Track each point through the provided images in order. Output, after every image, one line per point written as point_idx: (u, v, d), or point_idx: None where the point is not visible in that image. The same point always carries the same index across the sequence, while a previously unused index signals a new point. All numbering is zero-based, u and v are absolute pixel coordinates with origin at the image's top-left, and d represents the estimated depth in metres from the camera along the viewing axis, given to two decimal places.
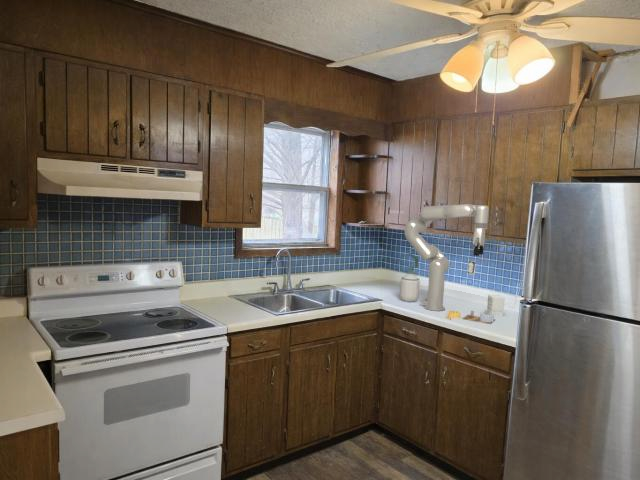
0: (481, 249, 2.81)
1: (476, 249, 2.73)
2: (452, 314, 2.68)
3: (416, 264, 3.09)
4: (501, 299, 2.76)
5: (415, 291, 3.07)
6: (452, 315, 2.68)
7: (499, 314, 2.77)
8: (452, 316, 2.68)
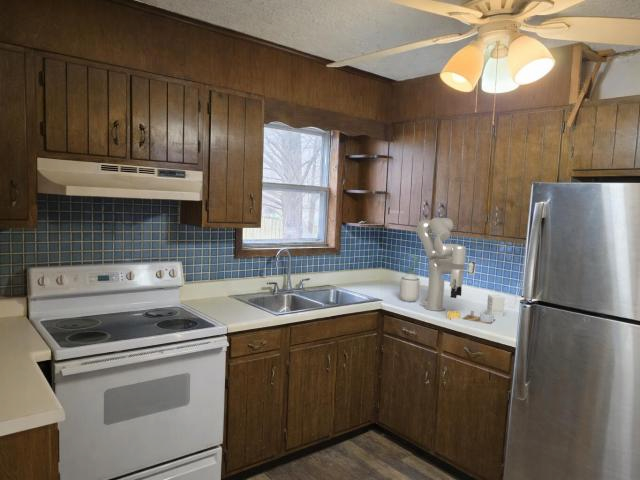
0: (459, 290, 2.72)
1: (453, 291, 2.64)
2: (452, 314, 2.68)
3: (416, 264, 3.09)
4: (501, 299, 2.76)
5: (415, 291, 3.07)
6: (452, 315, 2.68)
7: (499, 314, 2.77)
8: (452, 316, 2.68)
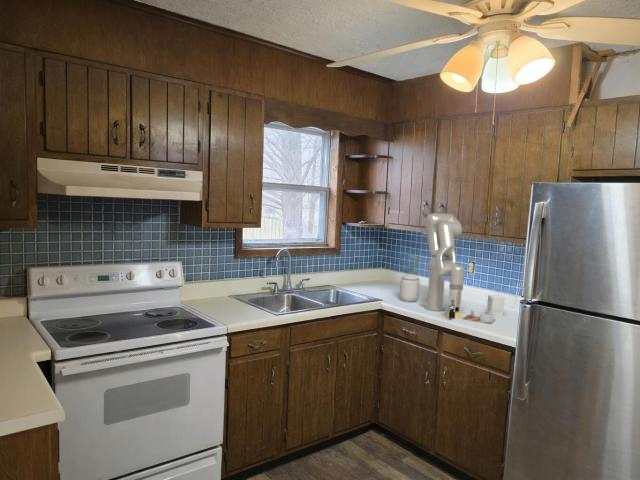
0: None
1: (451, 312, 2.66)
2: None
3: (416, 264, 3.09)
4: (501, 299, 2.76)
5: (415, 291, 3.07)
6: None
7: (499, 314, 2.77)
8: None
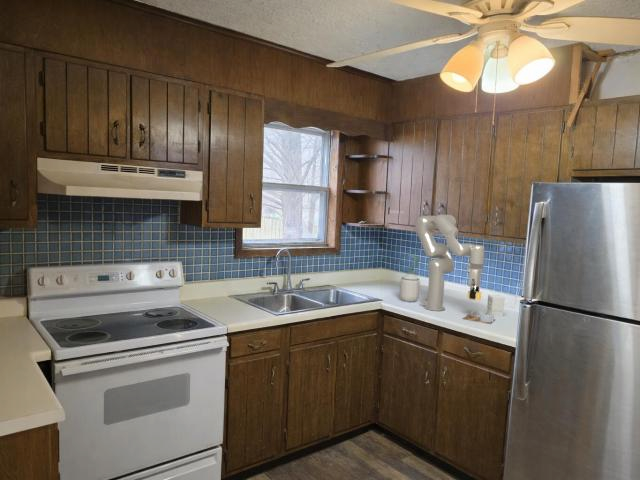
0: None
1: (472, 292, 2.64)
2: None
3: (416, 264, 3.09)
4: (501, 299, 2.76)
5: (415, 291, 3.07)
6: None
7: (499, 314, 2.77)
8: None
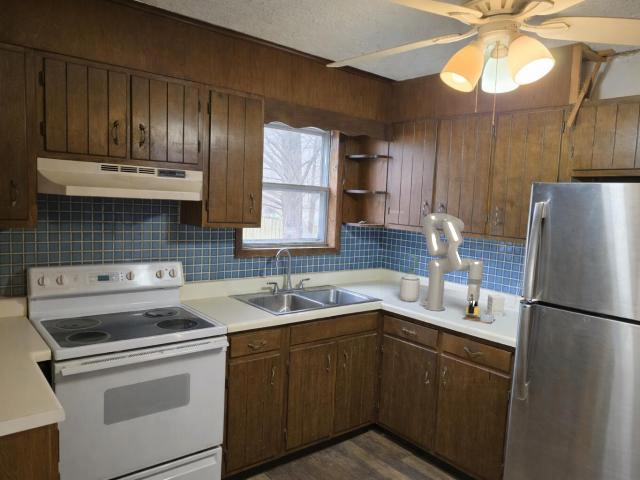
0: None
1: (471, 307, 2.65)
2: None
3: (416, 264, 3.09)
4: (501, 299, 2.76)
5: (415, 291, 3.07)
6: None
7: (499, 314, 2.77)
8: None
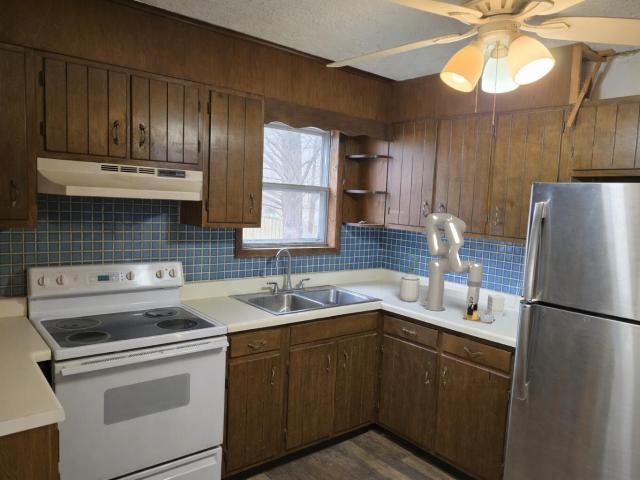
0: (475, 307, 2.73)
1: (470, 309, 2.64)
2: None
3: (416, 264, 3.09)
4: (501, 299, 2.76)
5: (415, 291, 3.07)
6: None
7: (499, 314, 2.77)
8: (470, 315, 2.67)
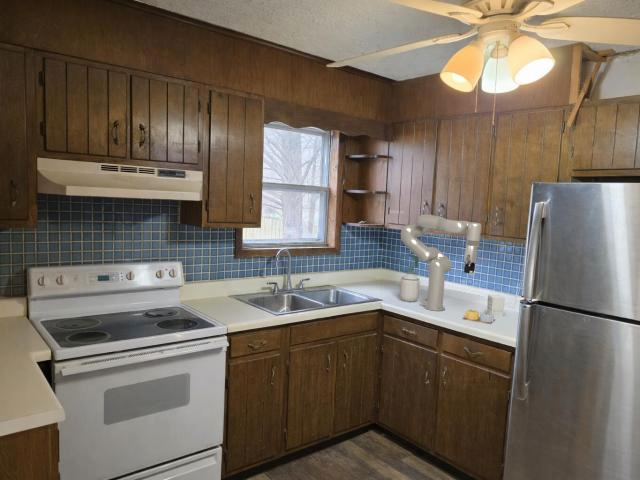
0: (472, 266, 2.81)
1: (467, 266, 2.73)
2: (470, 313, 2.67)
3: (416, 264, 3.09)
4: (501, 299, 2.76)
5: (415, 291, 3.07)
6: (470, 314, 2.67)
7: (499, 314, 2.77)
8: (470, 315, 2.67)
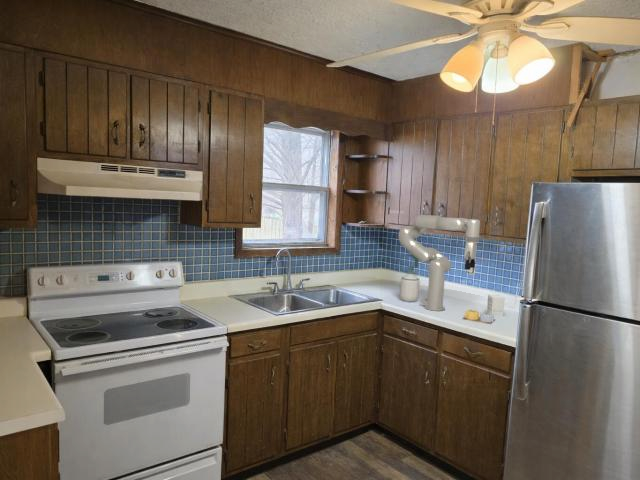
0: (472, 262, 2.82)
1: (467, 263, 2.74)
2: (470, 313, 2.67)
3: (416, 264, 3.09)
4: (501, 299, 2.76)
5: (415, 291, 3.07)
6: (470, 314, 2.67)
7: (499, 314, 2.77)
8: (470, 315, 2.67)
